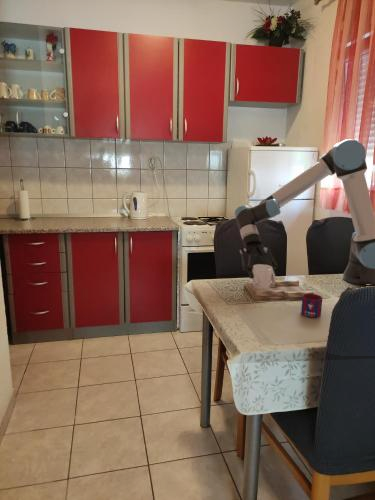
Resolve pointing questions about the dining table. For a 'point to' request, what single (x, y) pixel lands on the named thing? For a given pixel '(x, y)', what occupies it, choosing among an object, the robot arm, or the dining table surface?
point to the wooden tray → (278, 291)
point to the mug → (311, 305)
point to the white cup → (263, 277)
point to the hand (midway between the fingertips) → (265, 284)
